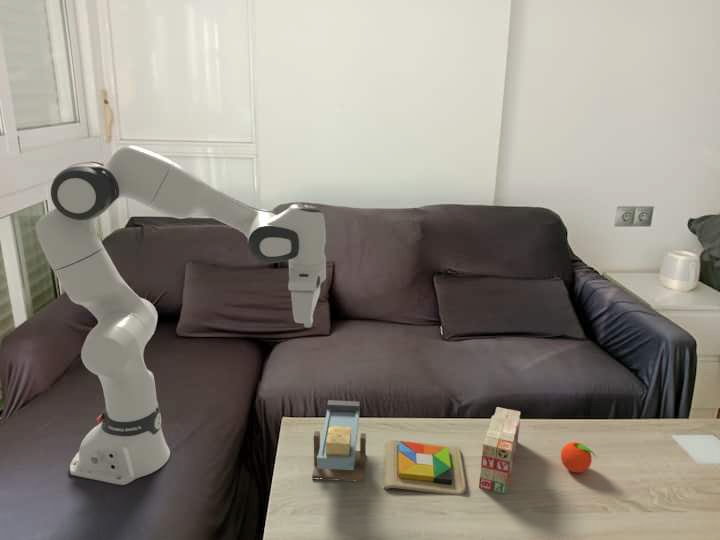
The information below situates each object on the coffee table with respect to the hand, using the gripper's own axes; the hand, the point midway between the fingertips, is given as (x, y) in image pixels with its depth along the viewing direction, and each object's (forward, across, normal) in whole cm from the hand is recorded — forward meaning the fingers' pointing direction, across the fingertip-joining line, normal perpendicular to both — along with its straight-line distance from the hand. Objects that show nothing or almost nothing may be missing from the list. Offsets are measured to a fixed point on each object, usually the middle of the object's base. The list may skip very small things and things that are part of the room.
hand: (308, 324), depth 140 cm
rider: (+22, +20, +9) cm, 31 cm away
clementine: (+31, +10, +66) cm, 74 cm away
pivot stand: (+31, +13, +9) cm, 35 cm away
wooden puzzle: (+32, +12, +29) cm, 45 cm away
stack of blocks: (+32, +9, +48) cm, 58 cm away
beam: (+23, +13, +9) cm, 28 cm away
